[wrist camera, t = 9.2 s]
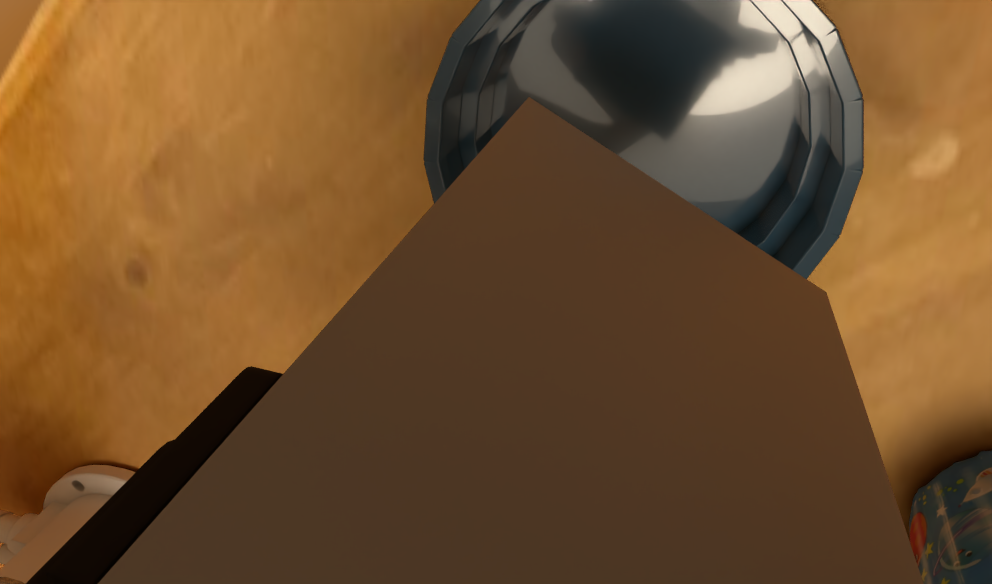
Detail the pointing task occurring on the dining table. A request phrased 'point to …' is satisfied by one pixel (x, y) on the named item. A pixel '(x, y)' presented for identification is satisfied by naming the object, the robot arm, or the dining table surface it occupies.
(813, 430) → the perfume bottle
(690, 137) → the bowl
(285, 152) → the dining table surface
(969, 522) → the snack cup
